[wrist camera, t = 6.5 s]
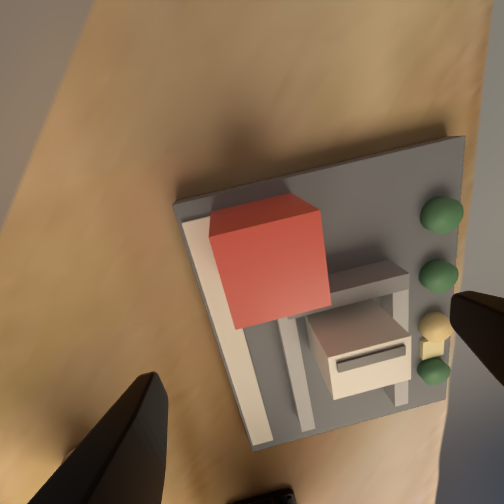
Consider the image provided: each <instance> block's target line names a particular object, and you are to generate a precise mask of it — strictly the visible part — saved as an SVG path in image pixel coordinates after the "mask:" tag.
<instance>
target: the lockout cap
mask: <svg viewBox="0 0 504 504" xmlns="http://www.w3.org/2000/svg"><path fill="white" fill-rule="evenodd" d="M209 241H210V244H211V247H212V251H213V254H214V258H215V261H216V265H217V268H218V272H219V275H220V279H221V282H222V286H223V289H224V292H225V296H226V299H227V303H228V306H229V310H230V313H231V317H232V320H233V324H234V327H235V330H237V329H241V328H245V327H249V326H253V325H257V324H261V323H265V322H269V321H272V320H276V319H280V318H284V317H288V316H292V315H296V314H300V313H304V312H308V311H311V310H315V309H319V308H323V307H327V306H331V305H332V304H331V296H330V287H329V279H328V271H327V262H326V254H325V246H324V238H323V229H322V221H321V213H320V210H319V209H317V208H316V207H314V206H313V205H311V204H309V203H308V202H306V201H304V200H303V199H301V198H299V197H298V196H296V195H294V194H293V193H287V194H283V195H279V196H275V197H271V198H266V199H262V200H258V201H254V202H250V203H246V204H241V205H237V206H233V207H229V208H225V209H220V210H216V211H212V212H211V213H210V225H209Z"/></svg>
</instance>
